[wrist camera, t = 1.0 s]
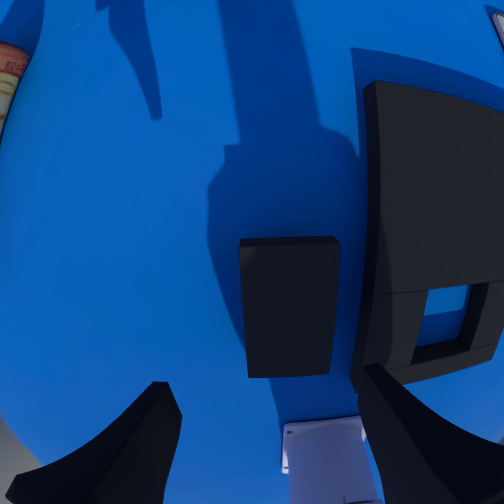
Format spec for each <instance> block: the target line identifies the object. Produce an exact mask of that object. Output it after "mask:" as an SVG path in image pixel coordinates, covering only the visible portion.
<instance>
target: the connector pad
mask: <svg viewBox="0 0 504 504" xmlns="http://www.w3.org/2000/svg"><path fill="white" fill-rule="evenodd" d="M239 260H240V274H241V289H242V303H243V317H244V331H245V344H246V357H247V370H248V378H276V377H297V376H312V375H324V374H329V371H330V364H331V356H332V348H333V339H334V329H335V319H336V308H337V296H338V281H339V264H340V243H339V242H338V240H337V239H336V238H335V237H334V236H308V237H278V238H251V239H241V242H240V245H239Z"/></svg>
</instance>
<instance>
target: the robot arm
mask: <svg viewBox="0 0 504 504" xmlns="http://www.w3.org/2000/svg"><path fill="white" fill-rule="evenodd" d="M357 403H358V408H359V412H360V415H359V416H352V417H345V418H338V419H329V420H320V421H309V422H296V423H287V424H285V425H284V432H283V453H282V473H289V493H290V504H382V500H379V498H378V494H377V490H376V486H375V482H374V478H373V475H372V471H371V467H370V464H369V460H368V457H367V453H366V449H365V446H364V443H363V442H364V440H365V437H366V436H367V439H368V442H369V445H370V447H371V450H372V453H373V456H374V459H375V461H376V464H377V467H378V470H379V474H380V477H381V482H382V487H383V493H384V498H385V504H504V446H503V445H500V444H497V443H494V442H491V441H488V440H485V439H483V438H480V437H478V436H476V435H474V434H471V433H469V432H467V431H465V430H463V429H461V428H459V427H457V426H455V425H454V424H452V423H451V422H449V421H447V420H446V419H444V418H442V417H441V416H439V415H438V414H437V413H435V412H434V411H432V410H431V409H430V408H428V407H427V406H426V405H424V404H423V403H422V402H421V401H420V400H418V399H417V398H416V397H415V396H414V395H412V394H411V393H410V392H409V391H408V390H407V389H406V388H404V387H403V386H402V385H401V384H400V383H399V382H398V381H397V380H396V379H395V378H394V377H393V376H392V375H390V374H389V373H388V372H387V371H386V370H385V369H384V368H383V367H382V366H381V365H380V364H379V363H375V364H370V365H365V366H362V374H361V381H360V388H359V395H358V401H357ZM181 422H182V414H181V412H180V410H179V407H178V405H177V403H176V400H175V398H174V396H173V393H172V391H171V389H170V386H169V384H168V382H155V381H153V382H152V383H151V384H150V385H149V386H148V387H147V388H146V390H145V391H144V392H143V393H142V394H141V395H140V396H139V397H138V398H137V399H136V400H135V401H134V402H133V403H132V404H131V405H130V406H129V407H128V408H127V409H126V410H125V411H124V412H123V413H122V414H121V415H120V416H119V417H118V418H117V419H116V420H115V421H113V422H112V423H111V424H110V425H109V426H108V427H107V428H106V429H104V430H103V431H102V432H101V433H100V434H99V435H97V436H96V437H95V438H93V439H92V440H91V441H89V442H88V443H86V444H85V445H84V446H82V447H80V448H79V449H77V450H76V451H74V452H72V453H70V454H69V455H67V456H65V457H63V458H61V459H59V460H57V461H55V462H53V463H51V464H48V465H46V466H44V467H41V468H38V469H35V470H32V471H29V472H25V473H22V474H18V475H16V477H15V478H14V480H13V482H12V483H11V485H10V487H9V489H8V491H7V493H6V495H5V497H6V498H7V499H8V500H9V501H10V502H11V503H13V504H163V499H164V492H165V487H166V482H167V478H168V475H169V472H170V468H171V465H172V461H173V458H174V454H175V451H176V447H177V444H178V440H179V436H180V429H181Z"/></svg>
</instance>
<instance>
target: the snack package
mask: <svg viewBox="0 0 504 504" xmlns="http://www.w3.org/2000/svg"><path fill="white" fill-rule="evenodd" d="M29 59H30V55H29V54H28V53H27V52H26V51H25V50H23V49H22V48H20V47H18V46H15V45H13V44H10V43H7V42H4V41H0V136H1V133H2V129H3V126H4V123H5V119H6V116H7V113H8V110H9V106H10V104H11V101H12V98H13V96H14V93H15V90H16V88H17V85H18V83H19V80H20V78H21V76H22V74H23V72H24V70H25V68H26V66H27V64H28V62H29Z"/></svg>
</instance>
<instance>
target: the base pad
mask: <svg viewBox="0 0 504 504" xmlns="http://www.w3.org/2000/svg"><path fill="white" fill-rule="evenodd" d="M363 92H364V103H365V115H366V131H367V153H368V216H367V239H366V255H365V268H364V279H363V289H362V298H361V307H360V315H359V322H358V329H357V336H356V342H355V348H354V354H353V360H352V366H351V371H350V379H351V382H352V385H353V387H354V390H355V393H359V388H360V381H361V374H362V366H365V365H370V364H375V363H379V364H380V365H381V366H382V367H383V368H384V369H385V370H386V371H387V372H388V373H389V374H390V375H392V376H393V377H394V378H395V379H396V380H397V381H398V382H399V383H400V384H401V385H404V384H409V383H413V382H418V381H422V380H426V379H430V378H434V377H438V376H442V375H445V374H449V373H452V372H456V371H459V370H462V369H466V368H469V367H472V366H475V365H478V364H481V363H484V362H487V361H489V360H492V357H493V355H494V353H495V350H496V348H497V345H498V341H499V339H500V337H501V334H502V331H503V328H504V113H502V112H499V111H497V110H494V109H491V108H488V107H486V106H483V105H480V104H477V103H473V102H470V101H467V100H464V99H460V98H457V97H453V96H450V95H446V94H442V93H438V92H434V91H429V90H425V89H420V88H416V87H411V86H405V85H400V84H394V83H388V82H381V81H374V82H372V83H371V84H369V85H368V86H367V87H365V88H364V89H363ZM469 284H473V287H472V291H471V295H470V299H469V303H468V307H467V311H466V315H465V318H464V322H463V325H462V328H461V332H460V335H459V338H458V339H454V340H450V341H445V342H441V343H436V344H431V345H426V346H421V347H416V348H415V346H416V342H417V339H418V335H419V331H420V327H421V323H422V319H423V314H424V310H425V305H426V300H427V295H428V289H436V288H445V287H453V286H461V285H469Z"/></svg>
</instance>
